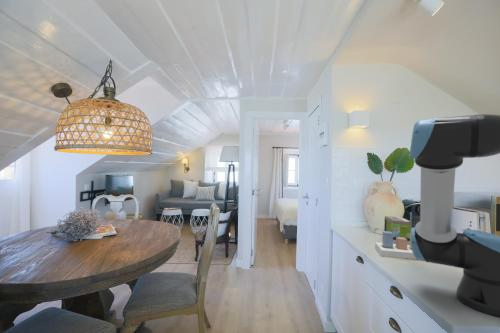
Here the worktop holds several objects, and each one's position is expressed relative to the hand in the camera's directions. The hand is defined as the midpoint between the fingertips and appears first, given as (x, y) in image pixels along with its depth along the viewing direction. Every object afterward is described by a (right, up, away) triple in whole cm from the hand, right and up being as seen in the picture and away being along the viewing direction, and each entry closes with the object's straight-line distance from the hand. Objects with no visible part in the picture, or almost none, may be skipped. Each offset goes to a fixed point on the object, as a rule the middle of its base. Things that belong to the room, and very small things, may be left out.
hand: (433, 205), depth 110 cm
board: (-3, -28, +18) cm, 33 cm away
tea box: (+6, -28, +37) cm, 47 cm away
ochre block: (+3, -24, +16) cm, 29 cm away
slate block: (-10, -24, +20) cm, 33 cm away
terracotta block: (-3, -27, +18) cm, 32 cm away
